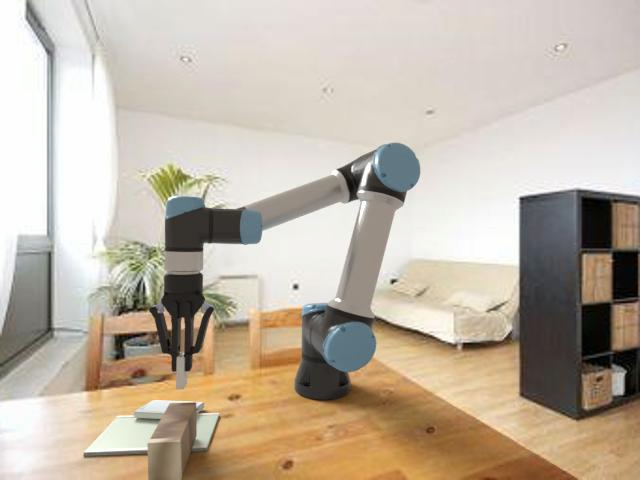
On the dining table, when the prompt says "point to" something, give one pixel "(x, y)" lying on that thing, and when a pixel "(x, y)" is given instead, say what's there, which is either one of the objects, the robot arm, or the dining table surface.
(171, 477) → the walnut block
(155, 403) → the hard drive
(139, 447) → the board
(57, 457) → the dining table surface
